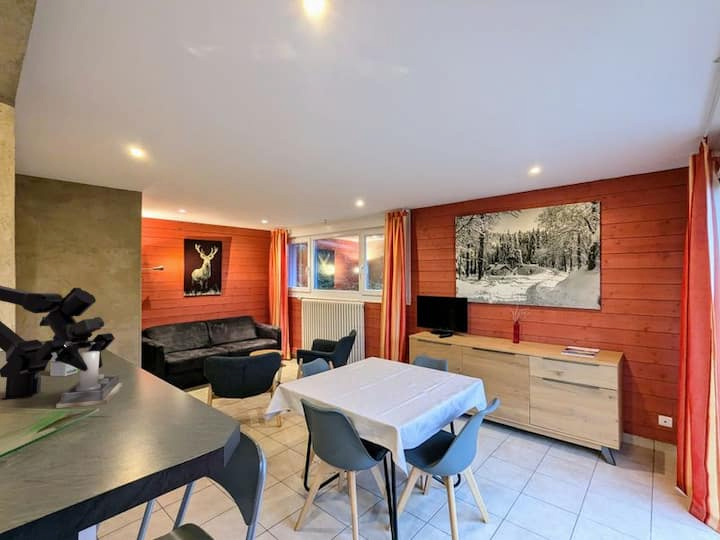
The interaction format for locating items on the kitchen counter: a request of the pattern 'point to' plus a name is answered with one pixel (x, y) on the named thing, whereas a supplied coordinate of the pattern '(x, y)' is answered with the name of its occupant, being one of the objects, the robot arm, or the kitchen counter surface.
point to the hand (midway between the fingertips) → (93, 368)
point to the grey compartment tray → (91, 393)
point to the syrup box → (61, 367)
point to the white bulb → (90, 373)
